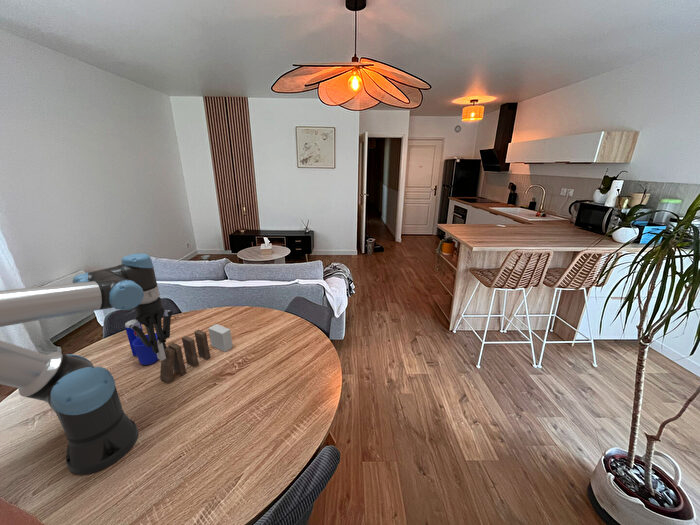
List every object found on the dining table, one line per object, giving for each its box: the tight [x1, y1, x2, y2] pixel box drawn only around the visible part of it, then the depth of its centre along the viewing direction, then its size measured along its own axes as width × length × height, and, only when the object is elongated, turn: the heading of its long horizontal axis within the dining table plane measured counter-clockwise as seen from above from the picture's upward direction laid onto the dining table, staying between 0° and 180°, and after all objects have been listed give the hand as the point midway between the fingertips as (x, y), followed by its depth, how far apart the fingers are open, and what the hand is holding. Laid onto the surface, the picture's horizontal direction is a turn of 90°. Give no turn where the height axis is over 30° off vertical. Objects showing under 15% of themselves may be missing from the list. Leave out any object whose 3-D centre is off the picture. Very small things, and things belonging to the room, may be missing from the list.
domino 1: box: [159, 345, 175, 384], centre depth 103 cm, size 2×5×12 cm, turn 61°
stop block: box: [208, 323, 234, 353], centre depth 123 cm, size 4×9×9 cm, turn 61°
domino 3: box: [181, 335, 200, 368], centre depth 111 cm, size 2×5×12 cm, turn 61°
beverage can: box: [124, 318, 144, 357], centre depth 117 cm, size 5×5×15 cm
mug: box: [132, 332, 159, 366], centre depth 115 cm, size 8×12×10 cm
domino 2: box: [167, 342, 187, 376], centre depth 107 cm, size 2×5×12 cm, turn 61°
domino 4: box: [193, 329, 211, 361], centre depth 115 cm, size 2×5×12 cm, turn 61°
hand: (161, 358), depth 101 cm, fingers closed
